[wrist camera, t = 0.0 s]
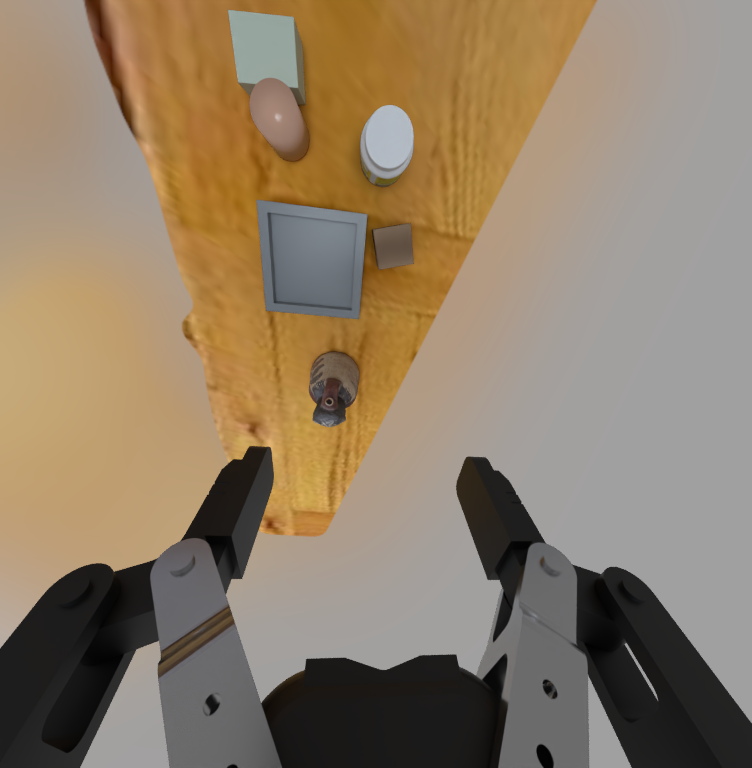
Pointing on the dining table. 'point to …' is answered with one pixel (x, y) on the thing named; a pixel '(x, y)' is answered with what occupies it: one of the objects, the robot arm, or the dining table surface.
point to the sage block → (267, 51)
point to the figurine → (333, 387)
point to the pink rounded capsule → (279, 118)
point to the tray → (311, 259)
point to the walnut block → (393, 246)
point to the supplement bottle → (386, 145)
